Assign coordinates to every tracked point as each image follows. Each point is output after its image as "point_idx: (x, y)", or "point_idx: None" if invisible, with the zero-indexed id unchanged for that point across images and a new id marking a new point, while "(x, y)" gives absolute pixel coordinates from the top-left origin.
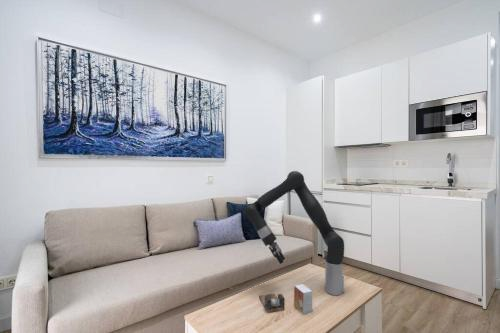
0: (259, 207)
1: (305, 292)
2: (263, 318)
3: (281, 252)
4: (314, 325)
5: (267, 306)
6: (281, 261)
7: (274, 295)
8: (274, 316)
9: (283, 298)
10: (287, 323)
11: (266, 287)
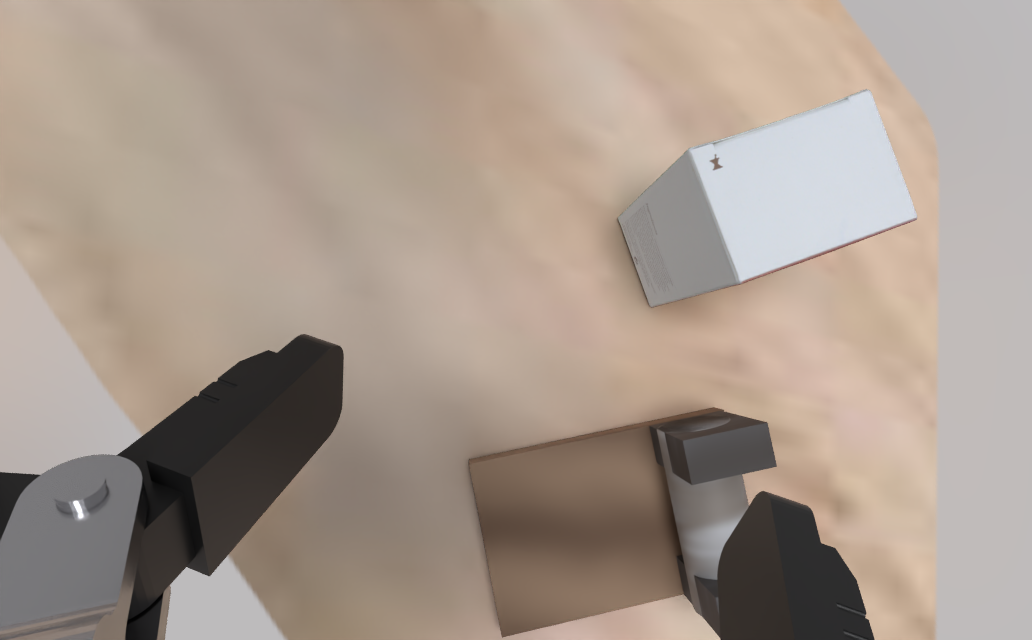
0: None
1: (905, 187)
2: None
3: (143, 478)
4: None
5: None
6: (832, 574)
7: (508, 471)
8: None
9: (768, 435)
10: (881, 419)
11: (294, 523)
